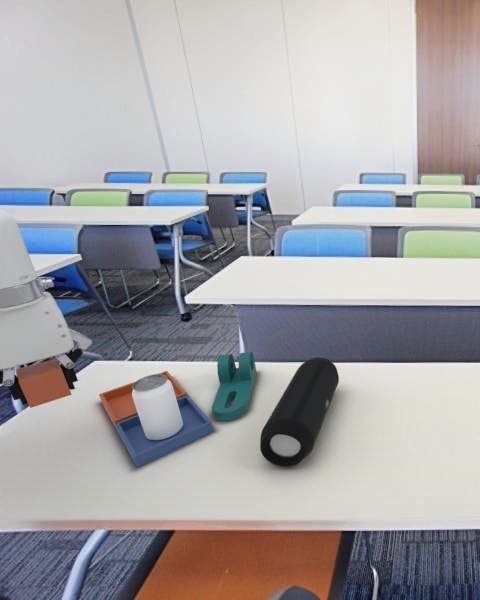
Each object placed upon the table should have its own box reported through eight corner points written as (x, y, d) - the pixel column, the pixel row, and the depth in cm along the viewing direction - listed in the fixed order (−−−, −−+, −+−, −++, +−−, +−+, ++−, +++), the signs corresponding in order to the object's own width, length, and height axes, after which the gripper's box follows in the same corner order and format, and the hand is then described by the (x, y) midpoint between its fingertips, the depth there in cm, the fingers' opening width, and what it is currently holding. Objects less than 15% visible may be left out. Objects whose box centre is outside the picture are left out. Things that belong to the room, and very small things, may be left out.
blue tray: (137, 467, 74) (133, 457, 73) (118, 433, 81) (114, 423, 80) (213, 431, 83) (211, 422, 82) (190, 403, 91) (187, 394, 90)
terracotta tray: (117, 431, 82) (113, 421, 81) (102, 403, 90) (98, 394, 89) (188, 402, 91) (186, 393, 90) (169, 379, 99) (167, 370, 98)
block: (30, 408, 64) (18, 382, 62) (26, 394, 67) (15, 369, 65) (71, 394, 67) (61, 369, 65) (66, 382, 70) (57, 358, 68)
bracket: (227, 376, 101) (221, 349, 98) (256, 373, 103) (252, 346, 100) (210, 423, 85) (202, 393, 82) (245, 418, 87) (239, 388, 84)
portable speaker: (312, 471, 75) (307, 429, 71) (259, 470, 74) (250, 428, 70) (342, 389, 98) (339, 354, 94) (301, 388, 98) (297, 353, 94)
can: (169, 416, 86) (155, 369, 81) (190, 425, 84) (177, 377, 79) (138, 436, 80) (121, 386, 75) (160, 445, 78) (144, 395, 73)
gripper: (77, 274, 68) (107, 365, 75) (-83, 301, 56) (-28, 405, 63) (85, 287, 63) (117, 382, 71) (-86, 318, 51) (-27, 429, 59)
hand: (48, 392), depth 67 cm, fingers closed on block, 5 cm apart
